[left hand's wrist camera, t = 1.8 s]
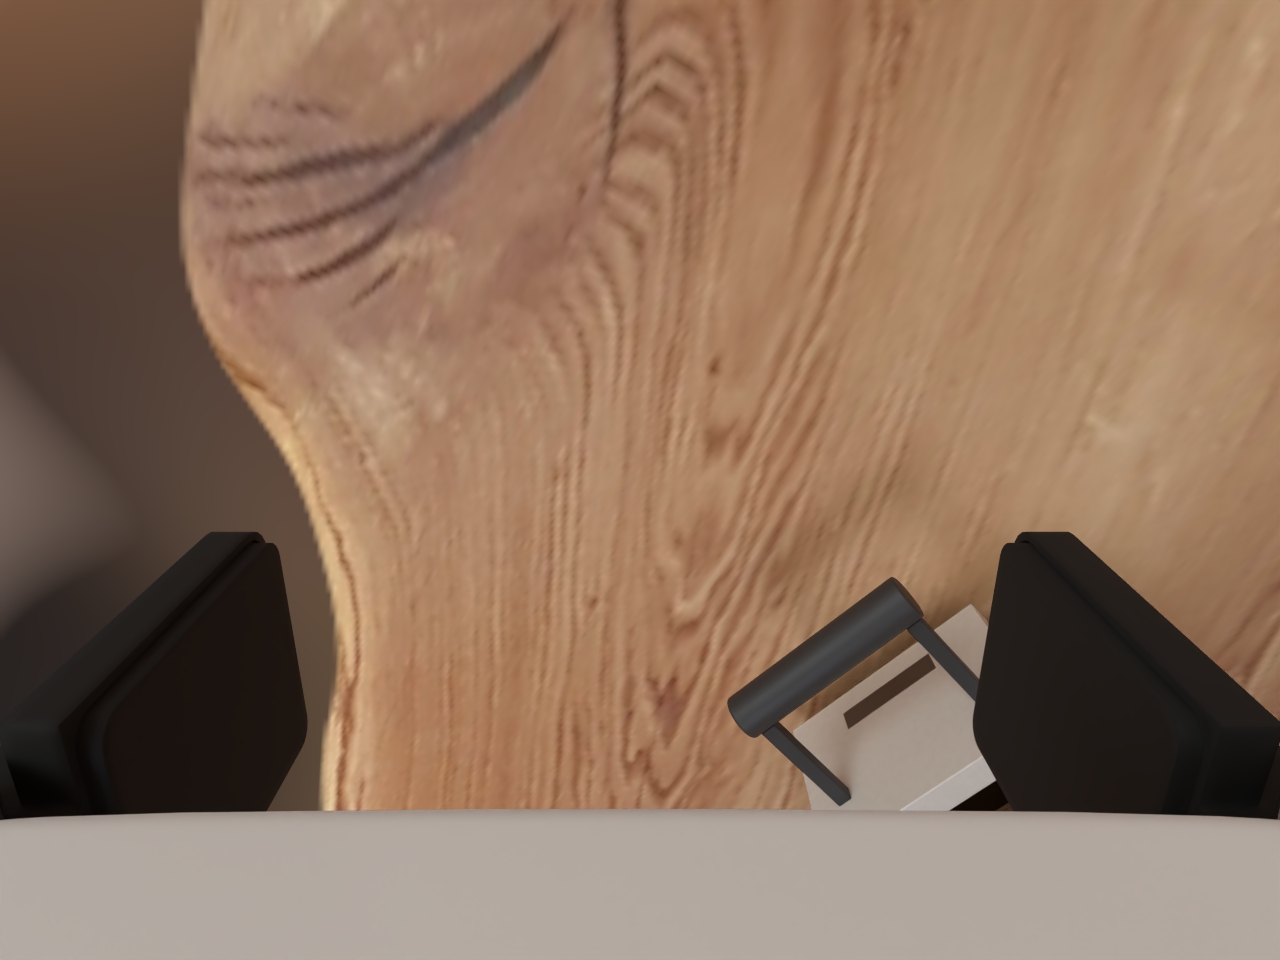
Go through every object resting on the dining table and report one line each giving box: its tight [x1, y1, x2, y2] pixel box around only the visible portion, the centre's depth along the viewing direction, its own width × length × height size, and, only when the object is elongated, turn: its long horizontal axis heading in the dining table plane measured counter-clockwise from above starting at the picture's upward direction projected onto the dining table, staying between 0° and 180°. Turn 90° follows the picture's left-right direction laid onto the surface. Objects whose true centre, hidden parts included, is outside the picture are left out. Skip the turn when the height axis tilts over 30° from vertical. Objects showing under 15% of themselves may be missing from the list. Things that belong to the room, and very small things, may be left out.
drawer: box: [727, 577, 1008, 811], centre depth 34 cm, size 20×10×7 cm, turn 43°
